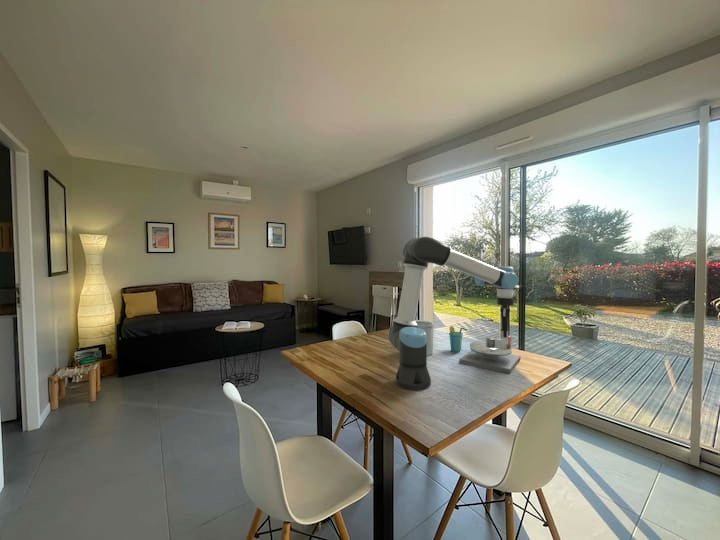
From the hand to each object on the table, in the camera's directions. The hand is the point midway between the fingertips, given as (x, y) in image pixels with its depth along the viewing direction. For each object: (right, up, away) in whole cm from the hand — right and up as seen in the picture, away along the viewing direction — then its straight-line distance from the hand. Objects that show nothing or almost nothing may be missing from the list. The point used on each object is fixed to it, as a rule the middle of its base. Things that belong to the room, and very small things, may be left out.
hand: (505, 343), depth 154 cm
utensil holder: (-39, -11, +21) cm, 45 cm away
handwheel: (-6, -5, +4) cm, 8 cm away
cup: (-18, -10, +22) cm, 30 cm away
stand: (-6, -11, +5) cm, 13 cm away
